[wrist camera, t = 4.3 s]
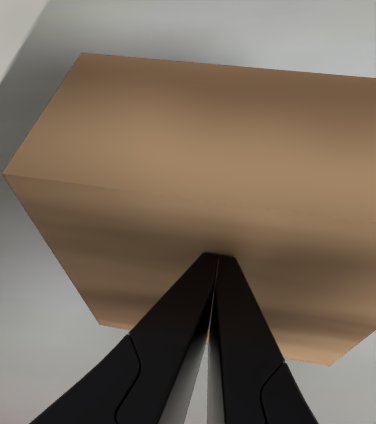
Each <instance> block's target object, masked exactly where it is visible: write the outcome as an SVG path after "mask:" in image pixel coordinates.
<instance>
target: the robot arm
mask: <svg viewBox="0 0 376 424" xmlns="http://www.w3.org/2000/svg"><path fill="white" fill-rule="evenodd" d="M218 258H219V263H218ZM217 266H218V269H217ZM216 274H217V275H216ZM214 289H215V290H214ZM213 296H214V298H213ZM212 303H213V306H212ZM211 310H212V314H211ZM210 317H211V322H210ZM209 324H210V330H209ZM208 331H209V340H208V393H207V424H319V423H318V422H317V420H316V418H315V417H314V415H313V413H312V411H311V410H310V408H309V406H308V405H307V403H306V401H305V399H304V397H303V395H302V393H301V392H300V390H299V388H298V386H297V384H296V382H295V380H294V378H293V376H292V374H291V372H290V370H289V367H288V365H287V364H286V363H284V362H285V359H284V357H283V355H282V353H281V351H280V349H279V347H278V345H277V343H276V340H275V338H274V336H273V334H272V332H271V330H270V328H269V326H268V324H267V322H266V319H265V317H264V315H263V313H262V311H261V309H260V307H259V305H258V303H257V301H256V298H255V296H254V294H253V292H252V290H251V288H250V286H249V284H248V282H247V280H246V278H245V275H244V273H243V271H242V269H241V267H240V265H239V263H238V261H237V259H236V257H234V256H227V255H220V257H219V256H218V255H217V254H214V253H207V252H204V253H202V254H201V255H200V256H199V257H198V258H197V259H196V260H195V261H194V263H193V264H192V265H191V266H190V267H189V268H188V269H187V270H186V271H185V272H184V273H183V274H182V275H181V277H180V278H179V279H178V280H177V281H176V282H175V283H174V284H173V285H172V286H171V287H170V288H169V290H168V291H167V292H166V293H165V294H164V295H163V296H162V297H161V298H160V299H159V300H158V301H157V302H156V304H155V305H154V306H153V307H152V308H151V309H150V310H149V311H148V312H147V313H146V314H145V315H144V316H143V318H142V319H141V320H140V321H139V322H138V323H137V324H136V325H135V326H134V327H133V328H132V329H131V331H130V332H129V335H128V334H127V335H126V336H125V337H124V338H123V339H122V340H121V341H120V342H119V343H118V344H117V345H116V347H115V348H114V349H113V350H112V351H111V352H110V353H109V354H108V355H107V356H106V357H105V358H104V359H103V360H102V361H101V362H100V363H99V364H97V365H96V366H95V367H94V368H93V369H92V370H91V371H90V372H88V373H87V374H86V375H85V376H84V377H83V378H82V379H81V380H80V381H78V382H77V383H76V384H75V385H74V386H73V387H71V388H70V389H69V390H68V391H67V392H66V393H64V394H63V395H62V396H61V397H60V398H59V399H57V400H56V401H55V402H54V403H53V404H52V405H50V406H49V407H48V408H47V409H46V410H45V411H43V412H42V413H41V414H40V415H39V416H38V417H36V418H35V419H34V420H33V421H32V422H30V423H29V424H184V421H185V417H186V414H187V410H188V407H189V403H190V399H191V396H192V392H193V389H194V385H195V381H196V378H197V374H198V371H199V367H200V363H201V360H202V356H203V352H204V349H205V345H206V341H207V336H208Z"/></svg>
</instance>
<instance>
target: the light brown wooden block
mask: <svg viewBox="0 0 376 424" xmlns="http://www.w3.org/2000/svg"><path fill="white" fill-rule="evenodd" d="M2 175H3V176H4V178H5V179H6V181H7V182H8V184H9V186H10V187H11V189H12V190H13V192H14V193H15V195H16V196H17V198H18V199H19V201H20V203H21V204H22V206H23V207H24V209H25V210H26V212H27V213H28V215H29V216H30V218H31V220H32V221H33V223H34V224H35V226H36V227H37V229H38V230H39V232H40V233H41V235H42V236H43V238H44V240H45V241H46V243H47V244H48V246H49V247H50V249H51V250H52V252H53V253H54V255H55V257H56V258H57V260H58V261H59V263H60V264H61V266H62V267H63V269H64V270H65V272H66V274H67V275H68V277H69V278H70V280H71V281H72V283H73V284H74V286H75V287H76V289H77V290H78V292H79V294H80V295H81V297H82V298H83V300H84V301H85V303H86V304H87V306H88V307H89V309H90V311H91V312H92V314H93V315H94V317H95V318H96V320H97V321H98V323H99V324H100V325H103V326H109V327H115V328H120V329H126V330H131V329H132V328H133V327H134V326H135V325H136V324H137V323H138V322H139V321H140V320H141V319H142V318H143V316H144V315H145V314H146V313H147V312H148V311H149V310H150V309H151V308H152V307H153V306H154V305H155V304H156V302H157V301H158V300H159V299H160V298H161V297H162V296H163V295H164V294H165V293H166V292H167V291H168V290H169V288H170V287H171V286H172V285H173V284H174V283H175V282H176V281H177V280H178V279H179V278H180V277H181V275H182V274H183V273H184V272H185V271H186V270H187V269H188V268H189V267H190V266H191V265H192V264H193V263H194V261H195V260H196V259H197V258H198V257H199V256H200V255H201V254H202V253H204V252H207V253H214V254H217V255H218V256H219V257H220V255H227V256H234V257H236V259H237V261H238V263H239V265H240V267H241V269H242V271H243V273H244V275H245V278H246V280H247V282H248V284H249V286H250V288H251V290H252V292H253V294H254V296H255V298H256V301H257V303H258V305H259V307H260V309H261V311H262V313H263V315H264V317H265V319H266V322H267V324H268V326H269V328H270V330H271V332H272V334H273V336H274V338H275V340H276V343H277V345H278V347H279V349H280V351H281V353H282V355H283V357H284V358H287V359H292V360H298V361H303V362H309V363H314V364H320V365H326V366H330V365H331V364H333V363H334V362H335V361H336V360H338V359H339V358H340V357H342V356H343V355H344V354H345V353H347V352H348V351H349V350H351V349H352V348H353V347H354V346H356V345H357V344H358V343H359V342H361V341H362V340H363V339H365V338H366V337H367V336H368V335H370V334H371V333H372V332H374V331H375V330H376V78H367V77H356V76H344V75H332V74H321V73H309V72H298V71H286V70H274V69H263V68H251V67H239V66H228V65H216V64H204V63H193V62H181V61H169V60H158V59H146V58H134V57H123V56H111V55H99V54H88V53H81V55H80V56H79V58H78V59H77V61H76V62H75V64H74V65H73V67H72V68H71V70H70V71H69V73H68V74H67V76H66V77H65V79H64V80H63V82H62V83H61V85H60V86H59V88H58V89H57V91H56V92H55V94H54V95H53V97H52V98H51V100H50V101H49V103H48V104H47V106H46V107H45V109H44V110H43V112H42V113H41V115H40V116H39V118H38V119H37V121H36V122H35V124H34V125H33V127H32V129H31V130H30V132H29V133H28V135H27V136H26V138H25V139H24V141H23V142H22V144H21V145H20V147H19V148H18V150H17V151H16V153H15V154H14V156H13V157H12V159H11V160H10V162H9V163H8V165H7V166H6V168H5V169H4V171H3V172H2ZM218 263H219V258H218ZM217 269H218V266H217ZM216 275H217V274H216ZM214 290H215V289H214ZM213 298H214V296H213ZM212 306H213V303H212ZM211 314H212V310H211ZM210 322H211V317H210ZM209 330H210V324H209ZM208 340H209V331H208V336H207V341H206V344H208Z"/></svg>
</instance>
